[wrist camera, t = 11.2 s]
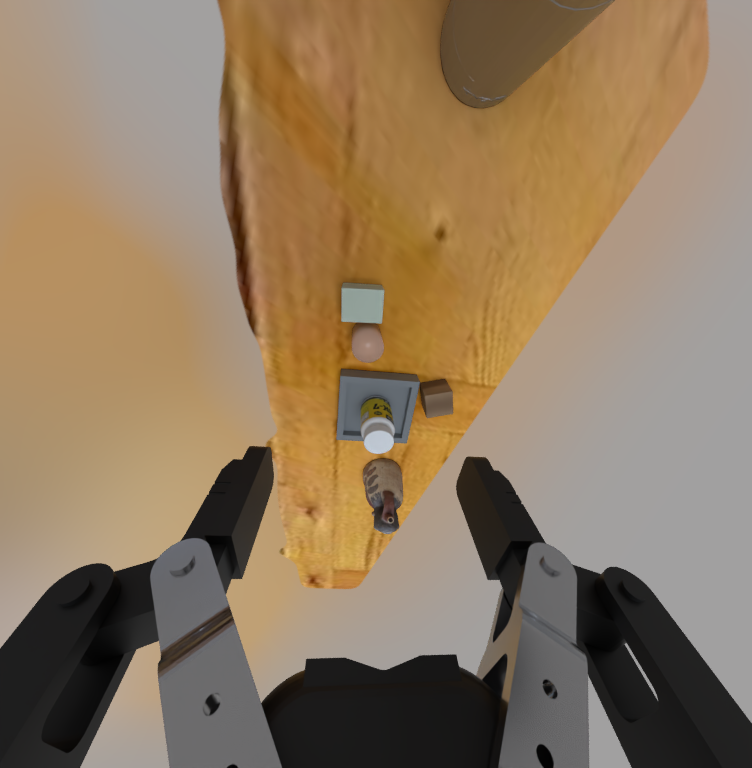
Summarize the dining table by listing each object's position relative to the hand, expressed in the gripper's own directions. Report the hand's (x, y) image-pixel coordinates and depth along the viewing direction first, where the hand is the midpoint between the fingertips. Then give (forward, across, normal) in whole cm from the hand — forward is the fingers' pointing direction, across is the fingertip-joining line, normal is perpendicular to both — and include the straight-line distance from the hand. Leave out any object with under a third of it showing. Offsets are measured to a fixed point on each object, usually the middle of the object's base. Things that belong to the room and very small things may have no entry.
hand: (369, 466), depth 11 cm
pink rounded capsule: (+29, -1, +4) cm, 29 cm away
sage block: (+29, 0, 0) cm, 29 cm away
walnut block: (+29, -12, +13) cm, 34 cm away
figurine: (+29, -6, +31) cm, 43 cm away
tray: (+29, -4, +16) cm, 33 cm away
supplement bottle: (+28, -3, +16) cm, 32 cm away
